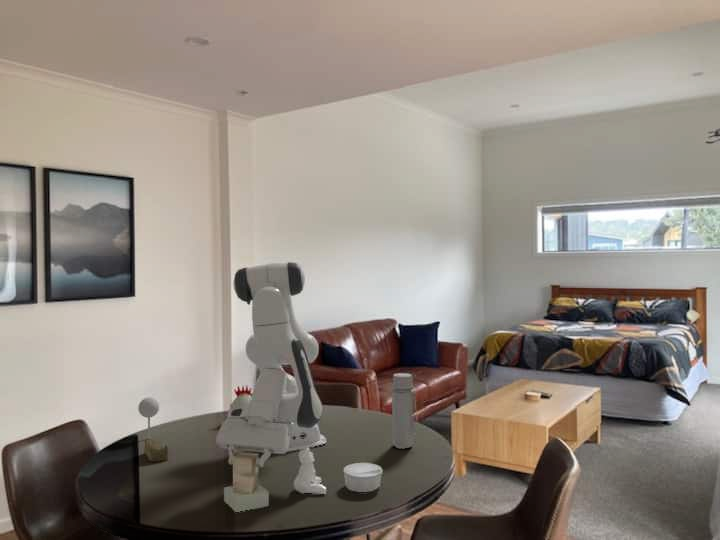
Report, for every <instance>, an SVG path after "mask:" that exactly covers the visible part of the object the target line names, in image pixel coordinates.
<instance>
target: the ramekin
mask: <svg viewBox="0 0 720 540" xmlns="http://www.w3.org/2000/svg"><path fill="white" fill-rule="evenodd" d="M382 475H383V468H382V467H381V466H380V465H378V464H375V463H371V462H356V463H351V464H348V465H345V467H344V468H343V476H344V481H345V486H346V488H347V490H349V491H350V490H352V491H357V492H367V491H373V490H375V489H377V488H378V487H379V488H380V486H381V480H382ZM379 488H378V489H379ZM378 489H377V490H378ZM352 491H351V492H352Z"/></svg>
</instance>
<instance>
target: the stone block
mask: <svg viewBox="0 0 720 540" xmlns="http://www.w3.org/2000/svg"><path fill="white" fill-rule="evenodd" d="M144 453H145V455H146V456H147V459H148V461H149V462H151V463H156V462H164V461H168V459H169V448H168V445H167V443H166V442H165V441H164V439H163V438H150V439H145V441H144Z"/></svg>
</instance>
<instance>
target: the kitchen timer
mask: <svg viewBox="0 0 720 540" xmlns="http://www.w3.org/2000/svg"><path fill="white" fill-rule="evenodd" d="M233 391H234V393H235V396H236V397H235V399H234V400H233V401H232V402H231V403H230V405H229V410H228V412H229V411H230V410H233V409H237V408H241V407H245V406H248V404H249V402H250V401H251V399H252V393H251V391H252V387H250V388H249V387H248V385H245V387H244V385H242V387H241V389H240V386H239V385H237V390H236V388H234V389H233ZM227 419H229V418H228V416H227V418H226V420H227Z"/></svg>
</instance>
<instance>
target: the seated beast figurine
mask: <svg viewBox="0 0 720 540" xmlns="http://www.w3.org/2000/svg"><path fill="white" fill-rule="evenodd" d="M298 458H299V461H300V463H301V465H300V466H299V470H298V472H297V473H298V474H297V475H296V477H295V479H294V481H293V486H294V489H295V492H296V491H297V492H298V493H299V492H300V494H304V493H312V494H311V495H319V494H324V495H326V494H327V486H325V485H323V484H322V478H321V477H320V476H318V475H317V476H316V469H315V467H314V462H315V457H314V453H313V452H312V451H310V448H304V449H300V450H299V452H298ZM320 483H321V484H320Z"/></svg>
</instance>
